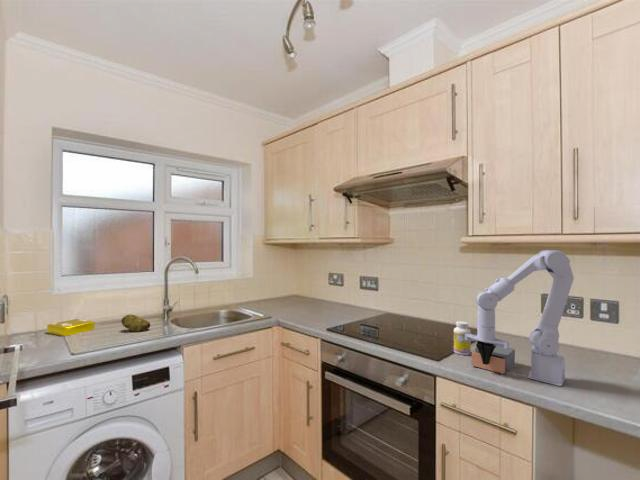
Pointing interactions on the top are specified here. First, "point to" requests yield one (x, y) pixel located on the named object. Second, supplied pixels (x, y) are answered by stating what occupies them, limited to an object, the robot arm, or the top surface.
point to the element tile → (70, 327)
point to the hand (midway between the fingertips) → (485, 363)
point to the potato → (135, 323)
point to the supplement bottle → (461, 338)
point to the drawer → (494, 363)
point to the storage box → (504, 356)
